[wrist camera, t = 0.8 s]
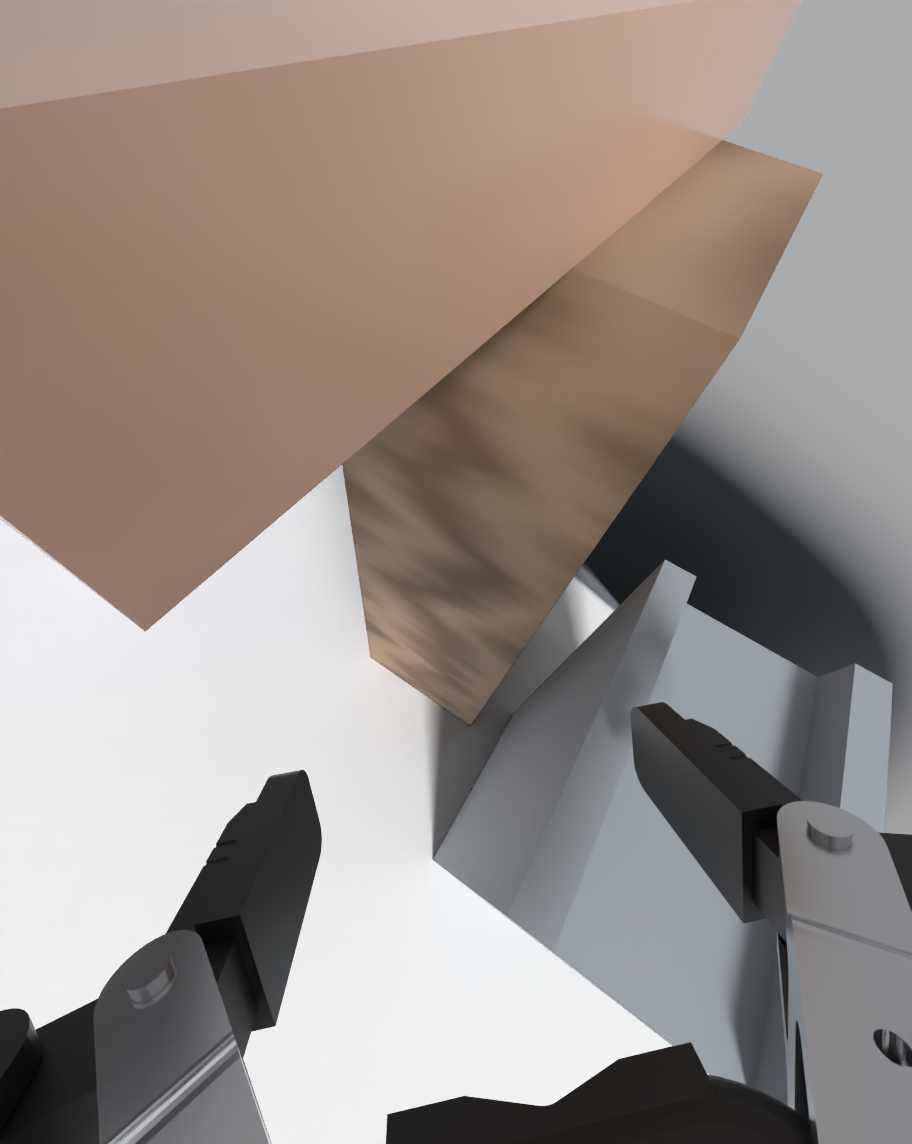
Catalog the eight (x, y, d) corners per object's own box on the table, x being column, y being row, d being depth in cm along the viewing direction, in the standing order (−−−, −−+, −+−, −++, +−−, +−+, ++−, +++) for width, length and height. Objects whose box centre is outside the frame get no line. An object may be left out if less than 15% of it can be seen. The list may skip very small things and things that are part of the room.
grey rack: (432, 859, 30) (507, 916, 10) (514, 712, 36) (665, 559, 16) (533, 938, 28) (866, 1195, 8) (601, 770, 34) (892, 683, 14)
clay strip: (-97, 444, 4) (-802, -110, 2) (651, 94, 16) (699, -45, 14) (145, 631, 4) (-426, 175, 1) (742, 123, 15) (810, -18, 13)
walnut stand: (370, 657, 37) (296, 151, 9) (447, 561, 42) (539, 78, 15) (469, 726, 35) (740, 338, 7) (536, 615, 41) (823, 174, 13)
